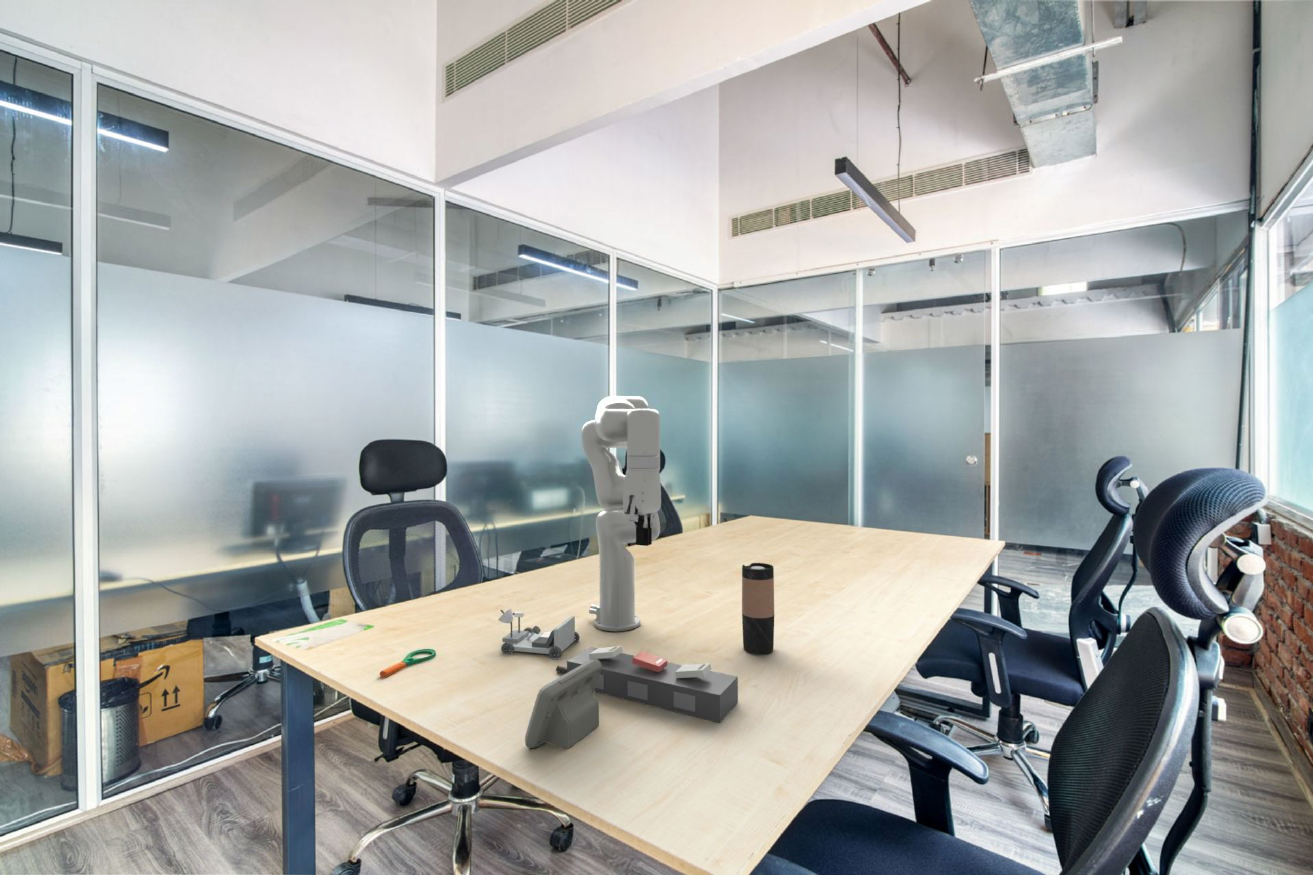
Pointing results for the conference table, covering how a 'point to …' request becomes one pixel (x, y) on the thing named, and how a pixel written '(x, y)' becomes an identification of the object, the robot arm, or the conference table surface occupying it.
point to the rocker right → (693, 670)
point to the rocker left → (605, 652)
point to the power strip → (663, 686)
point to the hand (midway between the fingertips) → (643, 544)
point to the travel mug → (758, 608)
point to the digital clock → (566, 708)
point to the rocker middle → (649, 661)
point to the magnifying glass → (409, 661)
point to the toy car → (538, 637)
